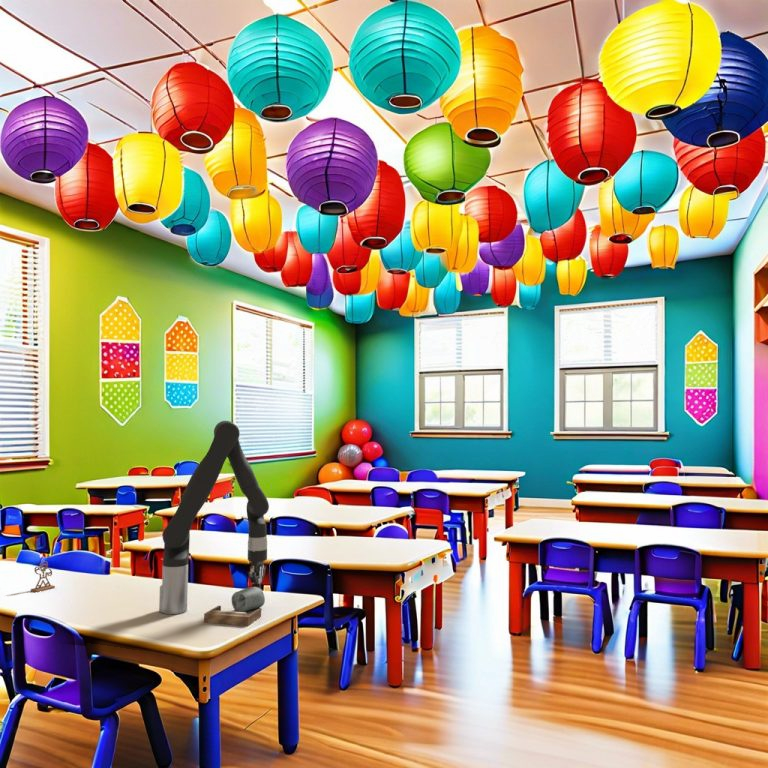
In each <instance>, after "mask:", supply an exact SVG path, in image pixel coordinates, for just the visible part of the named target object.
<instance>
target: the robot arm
mask: <svg viewBox="0 0 768 768" xmlns="http://www.w3.org/2000/svg"><path fill="white" fill-rule="evenodd" d="M240 435H241V434H240V429H239V427H238V425H236V424H235V423H234V422H232V421H230V420H221V421H219V422H218V423H217V424H216V425H215V427H214V430H213V439H212V441H211V445H210V447H209V449H208V451H207V452H206V455H204V457H203V458H202V460H201V461H200V463H198V465H197V466H196V468H195V469H194V471H193V473H192V475H191V476H190V478H189V481H188V482H187V485H186V487H185V489H184V491H183V494H182V497H181V499H180V502H179V504H178V507H177V508H176V510H175V513H174V514H173V516H172V518H171V519H170V520H169V522H168V524H166V525H167V526H165V528H164V529H163V532H162V541H163V543H164V547H163V555H162V579H161V581H162V582H161V585H160V586H159V607H158V610H159V611H158V612H159V613H162V614H166V615H178V614H183V613H185V612H187V611H188V588H189V555H190V541H191V540H190V539H191V537H190V535H191V533H190V531H191V529H192V525H193V523H194V521H195V519H196V517H197V515H198V514H199V512H200V510H202V508H203V506H204V505H205V503H206V501H207V500H208V498H209V496H210V494H211V493H212V491H213V490H214V486H215V485H216V482H217V480H218V478H219V475H220V473H221V471H222V470H223V466H224V464H225V462H226V459H228V461H229V464H230V466H231V469H232V471H233V474H234V477H235V478H236V482H237V484H238V486H239V489H240V490H241V493H242V494H243V495H244V496H245V497H246V499H247V502H246V515H247V517H246V518H247V522H248V538H247V561H249V562H250V564H251V565H250V571H248V572H247V575H248V578H249V580H250V584H253V587H258V588H260V589H261V590H262V588H261V587H262V585H261V583H262V582H263V581H264V578H265V573H266V570H267V565H264V564H265V563H264V562H265V561H267V560H268V538H267V528H268V527H267V523H266V521H265V515H266V514H267V513H268V512H269V508H270V506H269V505H270V504H269V501H268V498H267V497H266V495H265V493H264V492H263V490H262V488H261V487H260V485H259V481H258V480H257V477H256V476H255V473H254V471H253V468H252V467H251V465H250V462H249V461H248V459H247V458H246V456H245V454H244V452H243V449H242V447H241V444H240V440H239V438H240Z"/></svg>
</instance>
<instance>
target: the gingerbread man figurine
mask: <svg viewBox="0 0 768 768" xmlns="http://www.w3.org/2000/svg"><path fill="white" fill-rule="evenodd" d="M44 562H45V563H44ZM48 566H49V564H48V561H46V560H42V561H41V562H40V563H39V566H35V567H34V573H35V574H36V575H39V579H38V581H37V583H36V585H35V587H34V588H30V592H31V593H35V592H37V593H41V592H45V591H50V590H52V589H55V588H56V586H55V585H52V584H51V583H50V581H49V579H48V577H51V576H52V575H53V570H52V569H51V568H48ZM47 569H48V570H49V572H48V571H47ZM38 571H41V573H38ZM46 571H47V572H46ZM44 579H45V580H46V582H47V583H46V582H45V580H44ZM41 580H42V581H41ZM40 582H41V583H40ZM42 585H43V586H42ZM40 591H41V592H40Z"/></svg>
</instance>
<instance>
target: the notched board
mask: <svg viewBox="0 0 768 768" xmlns="http://www.w3.org/2000/svg"><path fill="white" fill-rule="evenodd" d="M260 617H261V618H262V608H256V610H254V611H252V612H251V613H249V614H248V613H247V612H246V611H245V612H236V611H228V610H222V605H217V606H216V607H213V608H211V609H210V610H208V611H206V612H205V613H204V614H203V623H209V624H220V625H234V626H243V627H244V626H247V627H248V626H251V624H254V623H255V622H257V619H258V620H259V619H261V618H260ZM254 621H255V622H254Z"/></svg>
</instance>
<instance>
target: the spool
mask: <svg viewBox="0 0 768 768" xmlns="http://www.w3.org/2000/svg"><path fill="white" fill-rule="evenodd" d="M265 597H266V596H265V594H264V591H263V589H262V588H261V589H260V588H258V587H254V586H251V587H246V588H243V589H241V590H239V591H235V592H234V593H233V594H232V596H231V606H232V608H233V609H234V612H245V613H246V612H248V611H251V610H255V609H260V608H262V607H263V606H264V605H265V603H266V602H265V601H266V598H265Z"/></svg>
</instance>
